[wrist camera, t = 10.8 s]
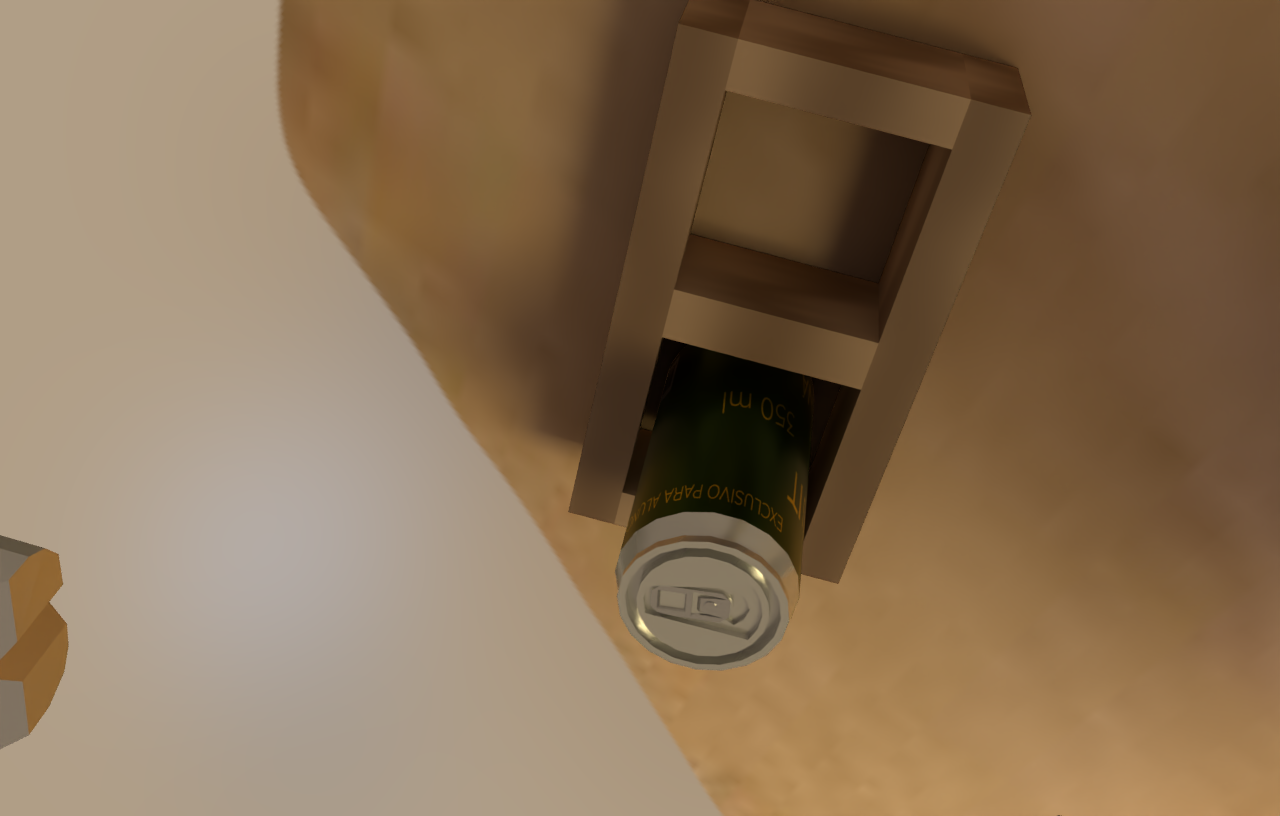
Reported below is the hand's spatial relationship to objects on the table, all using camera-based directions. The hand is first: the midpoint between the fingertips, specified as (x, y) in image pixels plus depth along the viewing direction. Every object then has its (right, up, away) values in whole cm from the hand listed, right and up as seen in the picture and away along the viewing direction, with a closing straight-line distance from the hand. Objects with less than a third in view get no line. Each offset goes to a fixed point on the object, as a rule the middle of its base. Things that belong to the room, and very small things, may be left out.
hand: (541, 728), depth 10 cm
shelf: (+5, +7, +32) cm, 33 cm away
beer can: (+4, +4, +35) cm, 35 cm away
